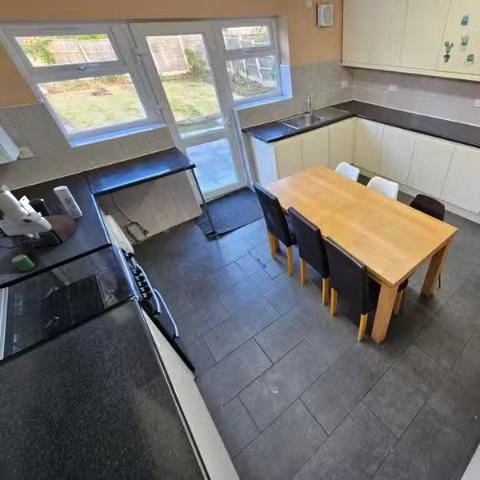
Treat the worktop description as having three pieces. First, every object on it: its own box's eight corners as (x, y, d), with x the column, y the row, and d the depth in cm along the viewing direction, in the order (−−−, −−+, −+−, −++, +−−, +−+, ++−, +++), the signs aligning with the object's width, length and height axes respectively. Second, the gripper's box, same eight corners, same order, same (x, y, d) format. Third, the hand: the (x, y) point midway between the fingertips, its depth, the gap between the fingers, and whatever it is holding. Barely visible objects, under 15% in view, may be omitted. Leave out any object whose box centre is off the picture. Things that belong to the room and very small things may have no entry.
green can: (20, 274, 139) (8, 262, 134) (27, 266, 143) (16, 255, 138) (32, 272, 140) (20, 261, 134) (38, 265, 144) (28, 253, 139)
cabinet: (63, 242, 159) (53, 229, 153) (36, 245, 157) (24, 232, 151) (78, 226, 171) (69, 213, 165) (53, 229, 170) (42, 216, 164)
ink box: (29, 216, 181) (15, 196, 173) (39, 214, 183) (25, 195, 175) (24, 222, 175) (9, 202, 166) (34, 220, 177) (19, 200, 168)
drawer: (54, 249, 153) (45, 238, 148) (28, 252, 151) (18, 241, 146) (73, 228, 168) (66, 218, 163) (50, 230, 167) (41, 220, 162)
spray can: (77, 212, 184) (61, 185, 173) (85, 213, 183) (69, 186, 171) (68, 217, 179) (50, 189, 168) (76, 218, 178) (58, 190, 166)
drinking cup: (55, 215, 182) (37, 188, 170) (56, 220, 177) (38, 192, 166) (40, 220, 178) (20, 192, 166) (41, 224, 173) (21, 196, 162)
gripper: (-9, 224, 137) (11, 244, 146) (36, 219, 140) (53, 239, 148) (0, 217, 142) (19, 237, 151) (43, 212, 144) (59, 233, 153)
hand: (36, 238), depth 150 cm, fingers closed
